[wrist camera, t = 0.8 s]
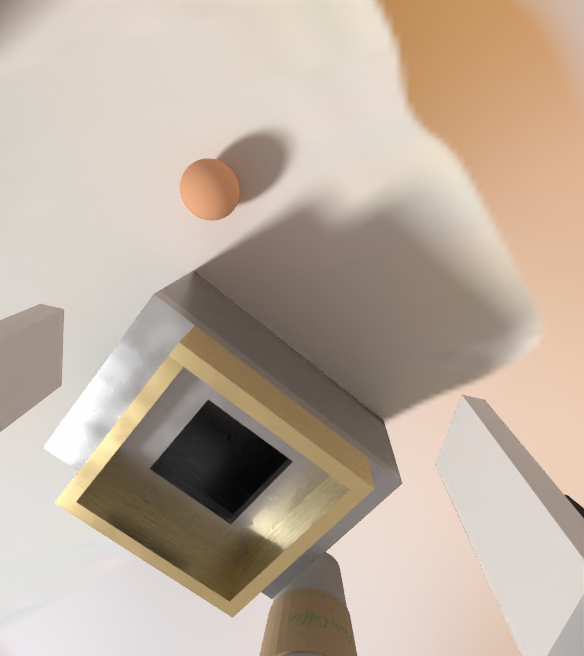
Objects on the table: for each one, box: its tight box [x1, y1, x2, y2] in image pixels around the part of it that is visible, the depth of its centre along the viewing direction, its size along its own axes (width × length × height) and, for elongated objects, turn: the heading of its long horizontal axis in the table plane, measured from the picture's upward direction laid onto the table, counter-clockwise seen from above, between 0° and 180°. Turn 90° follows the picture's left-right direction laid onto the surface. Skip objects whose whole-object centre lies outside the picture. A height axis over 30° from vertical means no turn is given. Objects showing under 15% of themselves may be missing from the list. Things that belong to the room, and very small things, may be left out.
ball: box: [180, 159, 240, 220], centre depth 28 cm, size 4×4×4 cm
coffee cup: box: [260, 552, 357, 656], centre depth 33 cm, size 9×9×15 cm
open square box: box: [44, 271, 402, 617], centre depth 30 cm, size 20×14×11 cm
